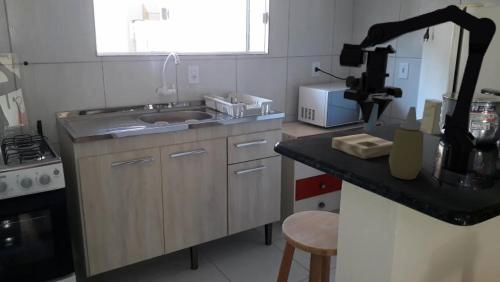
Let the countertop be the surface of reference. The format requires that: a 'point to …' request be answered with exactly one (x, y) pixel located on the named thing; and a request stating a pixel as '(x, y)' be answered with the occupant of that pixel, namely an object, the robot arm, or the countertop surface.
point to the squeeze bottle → (407, 148)
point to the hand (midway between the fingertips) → (370, 122)
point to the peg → (372, 120)
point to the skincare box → (431, 117)
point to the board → (362, 145)
